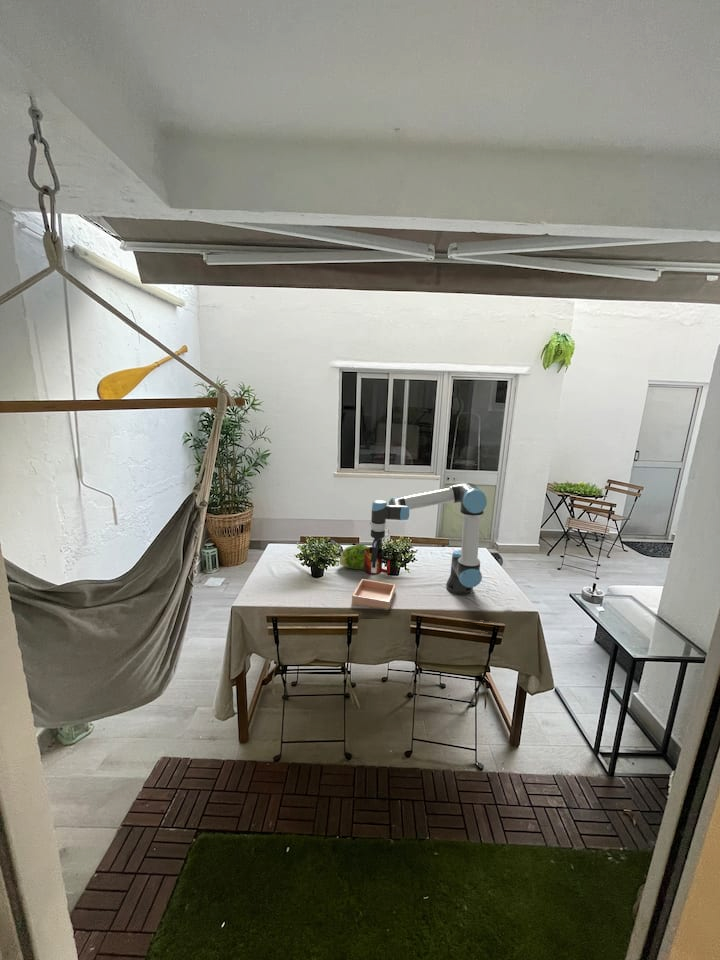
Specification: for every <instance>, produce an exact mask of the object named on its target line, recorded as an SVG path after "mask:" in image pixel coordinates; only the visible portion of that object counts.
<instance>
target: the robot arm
mask: <svg viewBox="0 0 720 960" xmlns="http://www.w3.org/2000/svg"><path fill="white" fill-rule="evenodd" d="M487 502H488V499H487V496H486V495H485V492H483V491H482V489H480V488H479V487H477V485H475V484H474V483H470V482H464V483H458V484H454V485H449V487H448V488H443V489H437V490H434V491H428V492H424V493H423V492H422V493H418V494H412V495H407V496H403V497H398V496H393V497H391V498H390V499H389V501H388V502H387V501H385V500H382V499H377V500H373V502H372V505H371V520H370V521H371V522H370V537H371V538H373V540H372V546H371V547H372V555H371V560H370V561H371V562H372V565H371V573H376V571H377V554H378V549H380V548H381V549H382V550H383V539H384V538H385V535H386V526H387V525H386V524H387V523H386V522H387V521H386V520H394V521H408V520H409V518H410V511H411V510H415V509H421V508H425V507H431V506H437V505H441V504H446V503H453V504H455V503H456V504H457V503H460V510H459V511H460V514H461V515H462V531H461V533H462V534H461V548H460V549H461V550H454V551H453V552H452V556H451V564H450V575H449V577H448V580H446V585H445V588H446V590H447V591H448V592H450V593H451V592H452V594H454V595H457V594H459V595H458V596H467V595H466V594H469V595H471V594H472V593H473V592H474V588H475V587H477V586H479V585H480V583H481V582H482V580H483V579H482V578H483V574H482V572H481V561H480V559H479V556H478V555H479V554H478V553H479V543H480V542H479V540H480V527H481V526H480V525H481V516H483V515H484V510H485V509H486V507H487ZM387 503H388V504H387ZM472 591H473V592H472ZM471 592H472V593H471ZM470 593H471V594H470Z"/></svg>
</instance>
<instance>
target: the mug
mask: <svg viewBox="0 0 720 960" xmlns="http://www.w3.org/2000/svg"><path fill="white" fill-rule="evenodd" d="M367 547H368V548H366V549H365V556H364V569H363V572H364V573H365V574H367V575H370V576H377V575H380V574H381V573H385V574H390V572H391V557H388V556H385V555H383V554H384V553H383V552H384V551H383V548H382V549H381V548H380V549H378V554H377V571H376V573H371V565H372V562H371V561H370V560H371V555H372V546H367ZM383 561H386V562H387V569H386V568H385V569H384V568H383Z"/></svg>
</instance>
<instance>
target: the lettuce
mask: <svg viewBox="0 0 720 960" xmlns="http://www.w3.org/2000/svg"><path fill="white" fill-rule="evenodd" d="M368 547H369V546H367V545H366V544H355V545H351V546H348V547H346V548H345V549H343V550H342V552H341V554H340V555H341V556H340V555H339V557H340V561H339V560H338V563H339V565H340V566H343V567H345V568H348V569H352V570H364V556H365V549H366V548H368Z"/></svg>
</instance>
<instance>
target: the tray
mask: <svg viewBox="0 0 720 960" xmlns="http://www.w3.org/2000/svg"><path fill="white" fill-rule="evenodd" d="M396 586H397V585H396V584H395V583H389V582H384V581H383V582H382V581H376V580H372V579H371V580H370V579H364V578H361V580H360V581H359V583H358V585H357V586H356V588H355V589H354V592H353V594H352V595H351V604H352V605H356V606H363V607H367V606H368V608H373V607H375V608H374V609H379V610H385V611H390V607H391V605H392V602H393V599H394V597H395V595H394V594H396V588H397V587H396Z"/></svg>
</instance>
